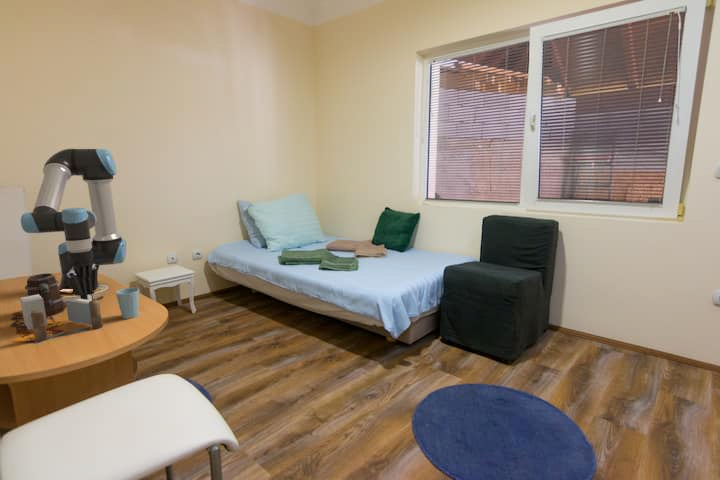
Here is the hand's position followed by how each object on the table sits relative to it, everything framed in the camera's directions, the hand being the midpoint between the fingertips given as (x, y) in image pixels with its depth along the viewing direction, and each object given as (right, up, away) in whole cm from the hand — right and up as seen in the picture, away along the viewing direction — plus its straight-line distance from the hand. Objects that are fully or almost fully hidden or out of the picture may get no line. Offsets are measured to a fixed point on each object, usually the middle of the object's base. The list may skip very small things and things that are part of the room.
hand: (88, 311), depth 147 cm
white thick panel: (0, -3, -4) cm, 5 cm away
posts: (+1, -6, -11) cm, 12 cm away
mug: (-21, -2, +7) cm, 22 cm away
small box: (-16, -5, -4) cm, 17 cm away
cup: (+13, -3, +4) cm, 14 cm away
